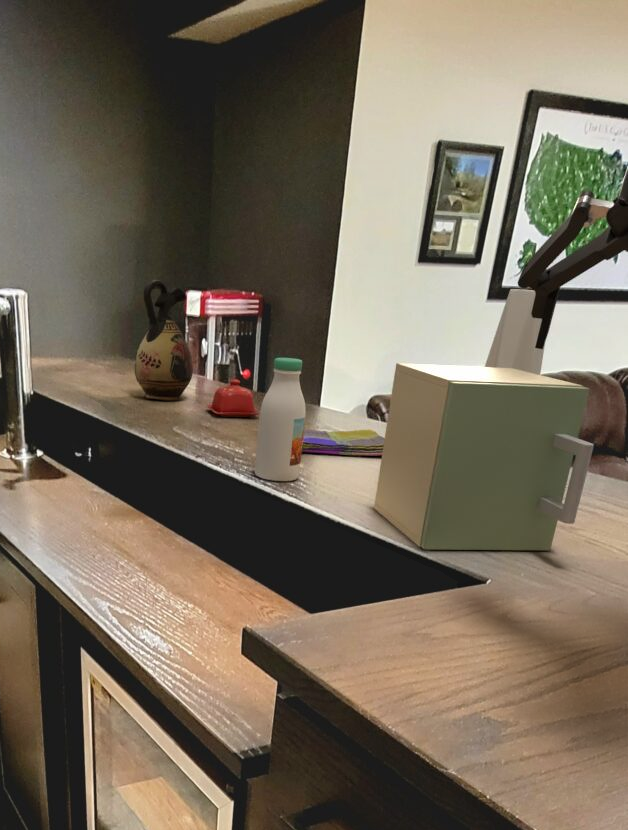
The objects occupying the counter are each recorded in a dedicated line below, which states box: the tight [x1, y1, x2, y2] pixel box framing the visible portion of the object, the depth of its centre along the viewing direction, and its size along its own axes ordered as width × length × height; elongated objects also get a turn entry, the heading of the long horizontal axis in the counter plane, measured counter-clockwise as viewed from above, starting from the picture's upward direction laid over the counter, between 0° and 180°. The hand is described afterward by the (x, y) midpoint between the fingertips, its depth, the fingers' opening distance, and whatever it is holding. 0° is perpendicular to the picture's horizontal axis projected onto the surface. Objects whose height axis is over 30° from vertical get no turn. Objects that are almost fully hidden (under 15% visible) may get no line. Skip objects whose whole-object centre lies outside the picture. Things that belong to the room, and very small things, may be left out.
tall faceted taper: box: [484, 288, 546, 375], centre depth 129 cm, size 12×12×33 cm
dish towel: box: [302, 428, 385, 457], centre depth 149 cm, size 18×24×3 cm
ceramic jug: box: [134, 279, 194, 401], centre depth 188 cm, size 17×15×30 cm
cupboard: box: [373, 362, 584, 548], centre depth 101 cm, size 16×18×22 cm
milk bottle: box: [253, 357, 307, 482], centre depth 122 cm, size 8×8×20 cm
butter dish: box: [205, 378, 260, 418], centre depth 175 cm, size 12×12×8 cm
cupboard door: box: [420, 382, 595, 551], centre depth 90 cm, size 7×18×22 cm, turn 97°
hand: (614, 351), depth 73 cm, fingers open, 13 cm apart
